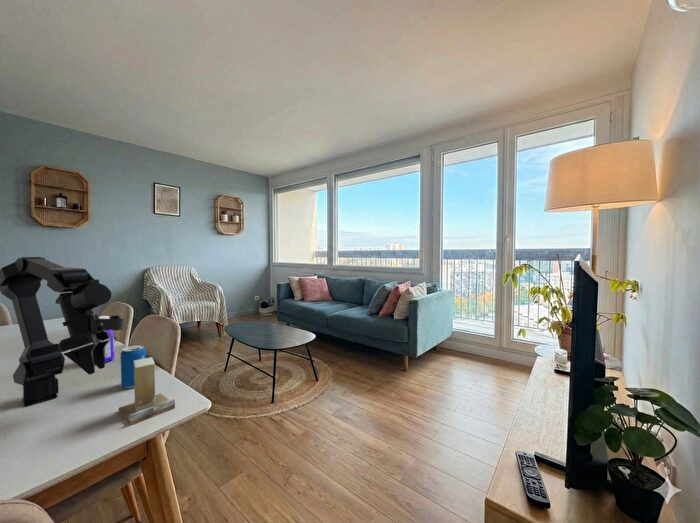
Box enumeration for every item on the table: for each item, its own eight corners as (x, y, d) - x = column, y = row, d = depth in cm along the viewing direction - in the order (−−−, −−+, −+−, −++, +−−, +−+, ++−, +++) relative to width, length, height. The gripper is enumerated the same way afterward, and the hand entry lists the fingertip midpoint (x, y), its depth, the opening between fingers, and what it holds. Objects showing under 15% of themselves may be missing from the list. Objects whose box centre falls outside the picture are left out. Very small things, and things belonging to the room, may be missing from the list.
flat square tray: (131, 425, 71) (130, 416, 71) (118, 411, 77) (118, 402, 77) (175, 408, 79) (175, 399, 79) (160, 396, 85) (160, 388, 85)
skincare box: (134, 403, 79) (133, 359, 79) (153, 398, 82) (152, 356, 81) (135, 413, 74) (134, 367, 74) (156, 408, 77) (155, 363, 77)
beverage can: (133, 390, 89) (132, 352, 88) (116, 388, 90) (115, 350, 89) (151, 381, 95) (150, 345, 95) (135, 379, 96) (134, 343, 96)
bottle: (89, 362, 111) (87, 317, 110) (106, 357, 116) (105, 314, 115) (100, 365, 108) (99, 319, 107) (117, 359, 113) (116, 316, 112)
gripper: (107, 302, 72) (127, 361, 71) (123, 305, 88) (139, 353, 88) (47, 319, 66) (68, 383, 66) (76, 319, 82) (93, 370, 82)
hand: (97, 370), depth 76 cm, fingers open, 9 cm apart
